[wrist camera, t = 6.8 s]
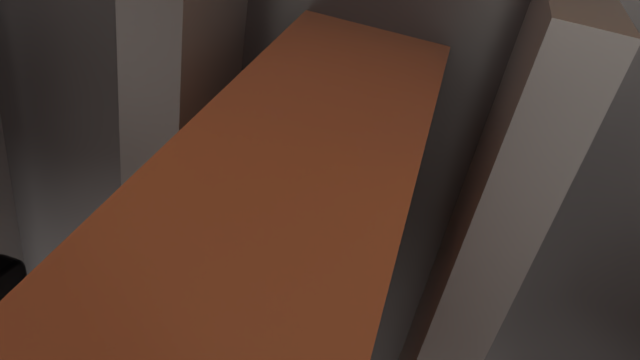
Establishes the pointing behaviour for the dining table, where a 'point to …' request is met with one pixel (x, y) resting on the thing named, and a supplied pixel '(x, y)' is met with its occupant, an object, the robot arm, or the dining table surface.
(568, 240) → the rack
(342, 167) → the brown flat rectangular slab
